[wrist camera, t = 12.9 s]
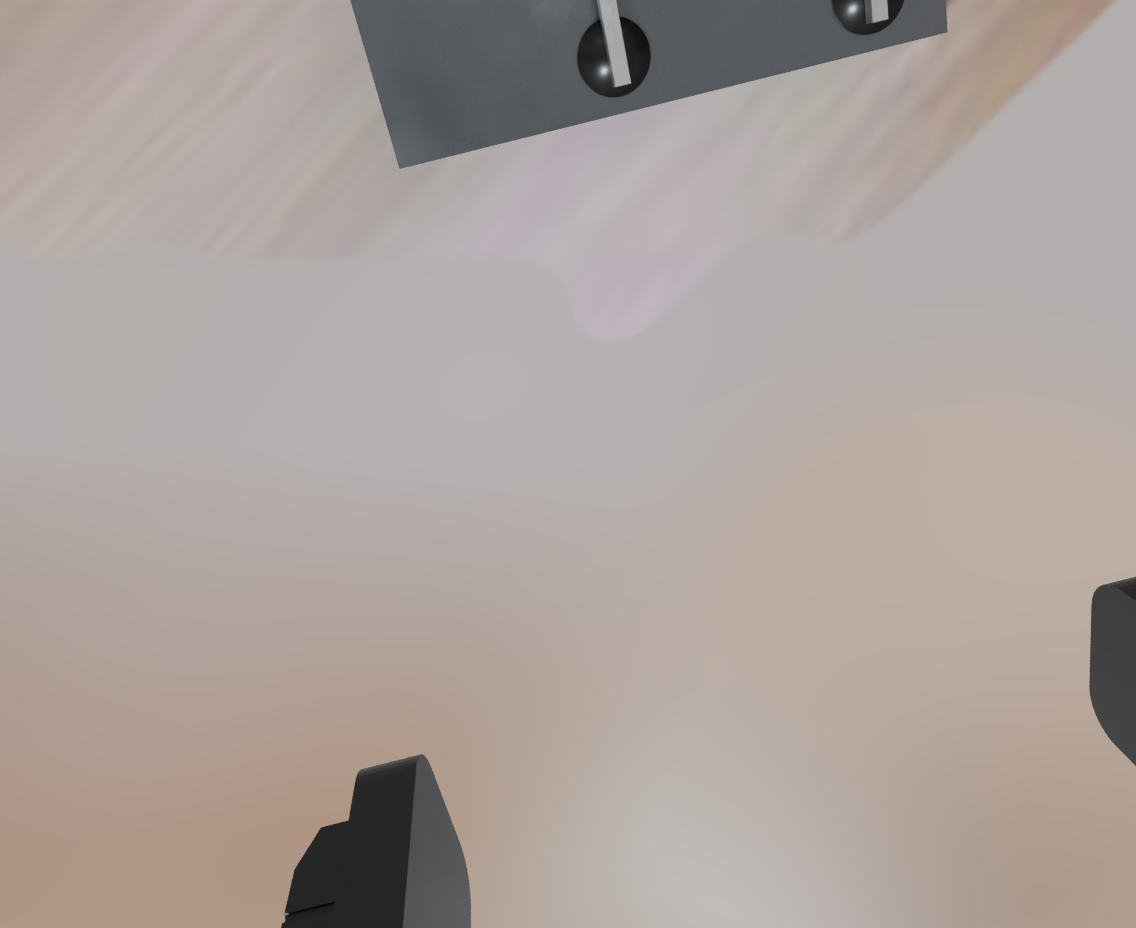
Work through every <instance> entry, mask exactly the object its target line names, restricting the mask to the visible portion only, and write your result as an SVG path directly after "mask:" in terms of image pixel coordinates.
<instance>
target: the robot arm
mask: <svg viewBox="0 0 1136 928" xmlns="http://www.w3.org/2000/svg"><path fill="white" fill-rule="evenodd" d="M1091 611H1092V612H1091V650H1090V651H1091V652H1090V653H1091V654H1090V696H1091V701H1092V705H1093V708H1094V710H1095V713H1096V716H1097V718H1098V720H1099V722H1100V724H1101V726H1102V728H1103V729H1104V731H1105V733H1106V734H1107V735H1108V737H1109V738H1110V739H1111V741H1112V742H1113V743H1114V744H1115V745H1116V746H1117V747H1118V748H1119V749H1120V750H1121V751H1122V752H1123V753H1124V754H1125V755H1126V756H1127V757H1128V758H1129V759H1130V760H1131V762H1132V763H1133V764H1134V765H1136V577H1133V578H1129V579H1125V580H1121V581H1117V582H1114V583H1109V584H1105V585H1102V586H1100V587H1098V588H1097V589H1096V591H1095V592H1094V595H1093V598H1092V610H1091ZM470 901H471V899H470V887H469V880H468V873H467V868H466V863H465V859H464V855H463V851H462V848H461V845H460V842H459V840H458V837H457V834H456V831H455V829H454V826H453V824H452V821H451V818H450V816H449V813H448V811H447V808H446V805H445V803H444V800H443V797H442V795H441V792H440V790H439V787H438V784H437V782H436V779H435V776H434V774H433V771H432V768H431V766H430V764H429V762H428V760H427V758H426V757H425V756H424V755H422V754H421V755H417V756H413V757H409V758H405V759H401V760H398V761H393V762H389V763H385V764H381V765H377V766H373V767H370V768H365V769H362V770H360V771H359V773H358V774H357V777H356V781H355V787H354V792H353V798H352V804H351V810H350V816H349V821H346V822H341V823H337V824H333V825H329V826H325V827H322V828H321V829H320V830H319V832H318V833H317V835H316V837H315V838H314V840H313V841H312V843H311V845H310V846H309V848H308V849H307V851H306V852H305V854H304V856H303V857H302V859H301V860H300V862H299V863H298V865H297V867H296V868H295V870H294V875H293V879H292V883H291V888H290V892H289V896H288V901H287V905H286V909H285V923H282V927H281V928H471V902H470Z"/></svg>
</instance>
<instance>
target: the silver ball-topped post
mask: <svg viewBox="0 0 1136 928" xmlns="http://www.w3.org/2000/svg"><path fill="white" fill-rule="evenodd" d="M864 1H865V14H866V24H869V23H874V22H878V21H882V20H886V19H888V6H887V0H864Z"/></svg>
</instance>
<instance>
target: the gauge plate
mask: <svg viewBox="0 0 1136 928" xmlns="http://www.w3.org/2000/svg"><path fill="white" fill-rule="evenodd" d="M616 2H617V8H618V13H619V19H620V25H621V30H622V36H623V41H624V47H625V52H626V58H627V63H628V69H629V74H630V80H631V84H627V85H622V86H618V87H613V84H612V79H611V74H610V68H609V63H608V58H607V52H606V47H605V42H604V37H603V31H602V26H601V21H600V15H599V10H598V5H597V0H351V4H352V7H353V11H354V14H355V17H356V21H357V24H358V28H359V31H360V34H361V38H362V41H363V45H364V48H365V52H366V55H367V58H368V62H369V65H370V69H371V72H372V76H373V79H374V82H375V86H376V89H377V93H378V96H379V100H380V103H381V106H382V110H383V113H384V117H385V120H386V124H387V127H388V130H389V134H390V137H391V141H392V144H393V148H394V151H395V154H396V158H397V161H398V165H399V168H400V169H401V168H405V167H409V166H413V165H417V164H421V163H425V162H429V161H433V160H437V159H441V158H445V157H449V156H453V155H457V154H461V153H465V152H469V151H473V150H477V149H481V148H485V147H489V146H493V145H497V144H501V143H505V142H509V141H513V140H517V139H521V138H525V137H529V136H533V135H537V134H541V133H545V132H549V131H553V130H557V129H561V128H565V127H569V126H573V125H577V124H581V123H585V122H589V121H593V120H597V119H601V118H605V117H609V116H613V115H617V114H621V113H625V112H629V111H633V110H637V109H641V108H645V107H649V106H653V105H657V104H661V103H665V102H669V101H673V100H677V99H681V98H685V97H689V96H693V95H697V94H701V93H705V92H709V91H713V90H718V89H722V88H726V87H730V86H734V85H738V84H742V83H746V82H750V81H754V80H758V79H762V78H766V77H770V76H774V75H778V74H782V73H786V72H790V71H794V70H798V69H802V68H806V67H810V66H814V65H818V64H822V63H826V62H830V61H834V60H838V59H842V58H846V57H850V56H854V55H858V54H862V53H866V52H870V51H874V50H878V49H882V48H886V47H890V46H894V45H898V44H902V43H906V42H910V41H914V40H918V39H922V38H926V37H930V36H934V35H938V34H942V33H946V32H947V16H946V0H887V6H888V19H886V20H882V21H878V22H874V23H869V24H866V14H865V1H864V0H616Z"/></svg>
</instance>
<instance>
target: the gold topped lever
mask: <svg viewBox="0 0 1136 928" xmlns="http://www.w3.org/2000/svg"><path fill="white" fill-rule="evenodd" d="M597 5H598V10H599V15H600V21H601V26H602V31H603V37H604V42H605V47H606V52H607V58H608V63H609V68H610V74H611V79H612V84H613V87H618V86H622V85H627V84H631V80H630V74H629V69H628V63H627V58H626V52H625V47H624V41H623V36H622V30H621V25H620V19H619V13H618V8H617V2H616V0H597Z"/></svg>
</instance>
